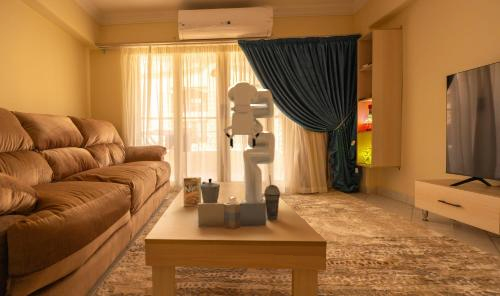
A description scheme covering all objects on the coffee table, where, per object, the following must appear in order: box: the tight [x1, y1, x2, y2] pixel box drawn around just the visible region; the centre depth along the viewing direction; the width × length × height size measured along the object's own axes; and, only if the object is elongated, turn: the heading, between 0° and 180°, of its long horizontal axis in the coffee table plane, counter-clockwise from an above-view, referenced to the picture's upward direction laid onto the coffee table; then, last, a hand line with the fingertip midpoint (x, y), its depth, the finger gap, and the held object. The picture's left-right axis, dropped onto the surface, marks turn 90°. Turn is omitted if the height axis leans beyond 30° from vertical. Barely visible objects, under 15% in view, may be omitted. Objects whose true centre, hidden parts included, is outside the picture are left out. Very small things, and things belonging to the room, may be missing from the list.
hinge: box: [197, 201, 267, 230], centre depth 112 cm, size 28×7×10 cm, turn 92°
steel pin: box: [228, 196, 237, 205], centre depth 112 cm, size 3×3×12 cm
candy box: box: [182, 176, 202, 207], centre depth 148 cm, size 9×4×15 cm, turn 87°
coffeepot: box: [201, 178, 221, 203], centre depth 126 cm, size 15×9×18 cm, turn 33°
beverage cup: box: [263, 174, 281, 222], centre depth 121 cm, size 7×7×20 cm
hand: (242, 147), depth 123 cm, fingers open, 9 cm apart
